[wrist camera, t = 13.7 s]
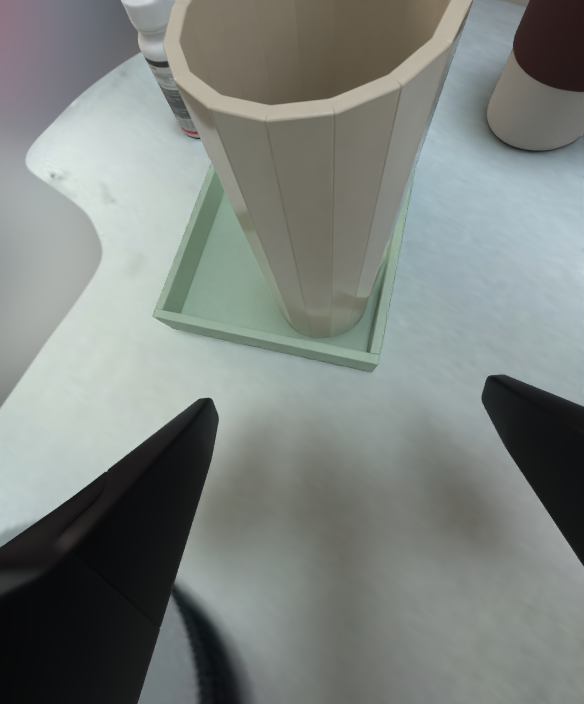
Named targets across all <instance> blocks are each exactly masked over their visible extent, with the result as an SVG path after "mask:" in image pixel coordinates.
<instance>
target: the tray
mask: <svg viewBox="0 0 584 704" xmlns="http://www.w3.org/2000/svg"><path fill="white" fill-rule="evenodd" d="M414 173H415V171H414ZM413 178H414V174H413V176H412V179H411V182H410V185H409V188H408V191H407V194H406V197H405V200H404V203H403V206H402V208H401V211H400V214H399V217H398V220H397V223H396V226H395V229H394V232H393V235H392V238H391V240H390V243H389V246H388V249H387V252H386V255H385V258H384V261H383V264H382V267H381V270H380V272H379V275H378V278H377V281H376V284H375V287H374V290H373V293H372V296H371V299H370V301H369V304H368V306H367V308H366V311H365V313H364V315H363V317H362V318H361V320H360V321H359V322H358V323H357V324H356V325H355V326H354V327H353V328H352V329H350V330H349V331H347V332H345V333H343V334H341V335H339V336H335V337H331V338H313V337H308V336H306V335H303V334H301V333H299V332H297V331H296V330H294V329H293V328H292V327H291V326H290V325H289V324H288V323H287V322H286V321H285V319H284V318H283V317H282V315H281V313H280V310H279V308H278V306H277V304H276V302H275V300H274V297H273V295H272V293H271V291H270V289H269V287H268V284H267V282H266V280H265V278H264V276H263V273H262V271H261V269H260V267H259V265H258V263H257V260H256V258H255V256H254V254H253V252H252V250H251V247H250V245H249V243H248V241H247V239H246V237H245V234H244V232H243V230H242V228H241V226H240V223H239V221H238V219H237V217H236V215H235V213H234V210H233V208H232V206H231V204H230V202H229V200H228V197H227V195H226V193H225V191H224V189H223V186H222V184H221V182H220V180H219V178H218V176H217V173H216V171H215V169H214V167H213V165H212V163H211V164H210V167H209V169H208V172H207V175H206V177H205V180H204V183H203V185H202V188H201V190H200V193H199V196H198V198H197V201H196V203H195V206H194V209H193V211H192V214H191V217H190V219H189V222H188V224H187V227H186V230H185V232H184V235H183V237H182V240H181V243H180V245H179V248H178V250H177V253H176V256H175V258H174V261H173V264H172V266H171V269H170V271H169V274H168V277H167V279H166V282H165V284H164V287H163V290H162V292H161V295H160V298H159V300H158V303H157V305H156V309H155V310H154V313H153V315H152V316H153V317H154V318H156V319H158V320H159V321H161V322H163V323H165V324H166V325H168V326H170V327H171V328H174V329H179V330H183V331H188V332H192V333H197V334H201V335H206V336H211V337H215V338H220V339H224V340H229V341H233V342H238V343H242V344H247V345H251V346H256V347H261V348H265V349H270V350H274V351H279V352H283V353H288V354H292V355H297V356H301V357H306V358H311V359H315V360H320V361H324V362H329V363H333V364H338V365H342V366H347V367H352V368H356V369H361V370H365V371H370V372H372V371H373V370H374V369H375V367H376V366H377V365H378V364H379V358H380V353H381V348H382V342H383V337H384V332H385V326H386V321H387V316H388V310H389V305H390V300H391V295H392V289H393V284H394V279H395V273H396V268H397V263H398V257H399V252H400V247H401V242H402V236H403V231H404V226H405V220H406V215H407V210H408V204H409V199H410V194H411V188H412V183H413Z"/></svg>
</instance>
